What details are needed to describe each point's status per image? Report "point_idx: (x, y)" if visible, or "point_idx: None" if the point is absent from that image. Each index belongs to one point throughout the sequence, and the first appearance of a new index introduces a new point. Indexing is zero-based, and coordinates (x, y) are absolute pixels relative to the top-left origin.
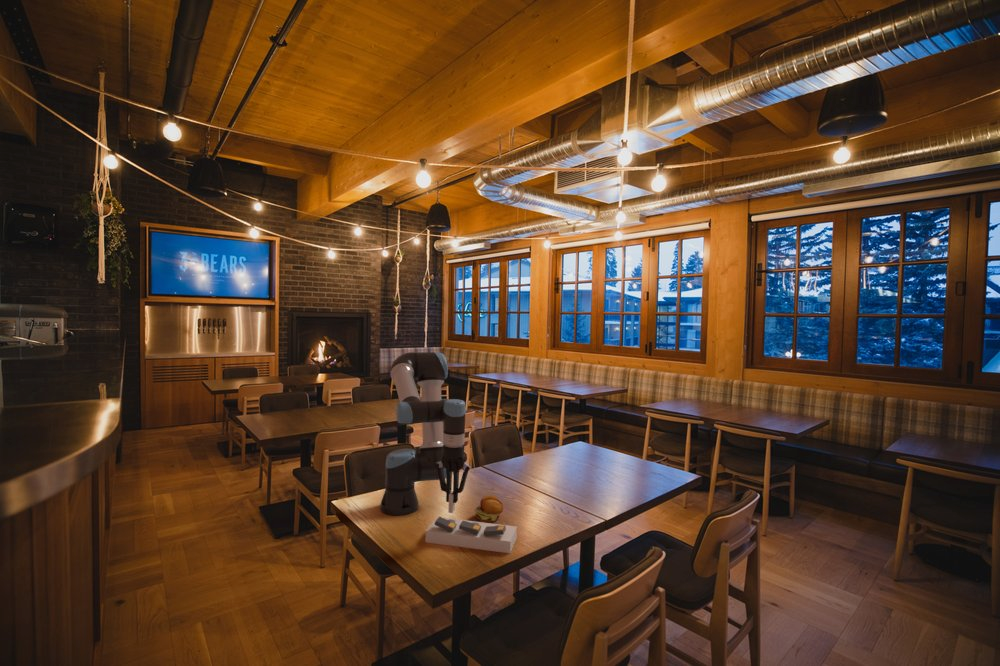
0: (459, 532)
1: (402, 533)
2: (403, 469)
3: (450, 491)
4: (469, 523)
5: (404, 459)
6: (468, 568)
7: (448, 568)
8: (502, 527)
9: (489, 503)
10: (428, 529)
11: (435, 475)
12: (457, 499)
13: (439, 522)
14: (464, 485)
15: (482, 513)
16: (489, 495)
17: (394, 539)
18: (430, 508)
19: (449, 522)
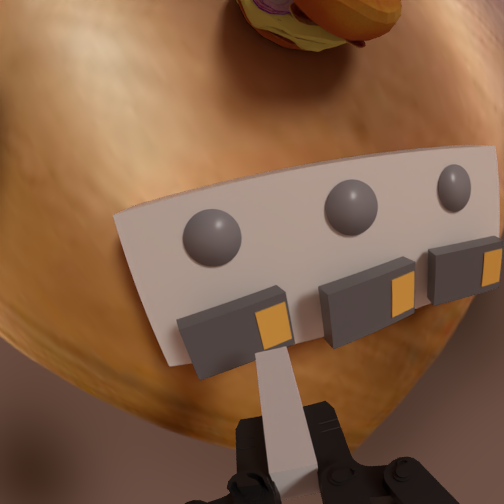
0: (317, 316)
1: (69, 315)
2: None
3: (277, 494)
4: (367, 292)
5: None
6: (384, 387)
7: (335, 412)
8: (497, 263)
9: (362, 2)
10: (170, 353)
11: None
12: (336, 421)
13: (219, 370)
14: (446, 490)
15: (312, 38)
16: None
17: (85, 358)
18: (24, 72)
19: (251, 319)
